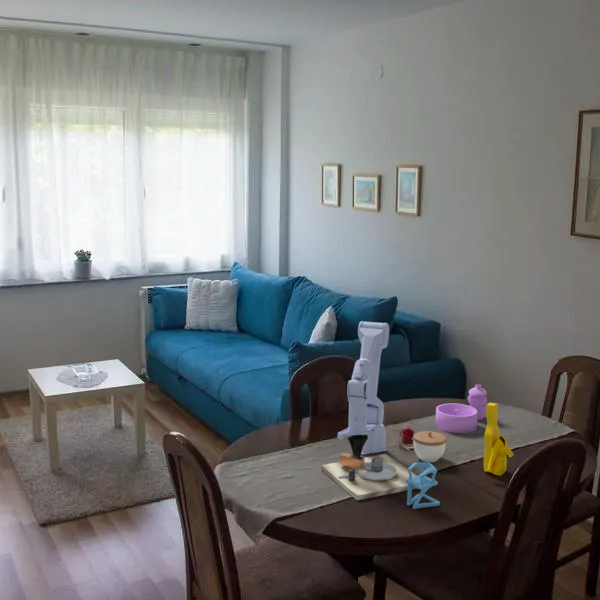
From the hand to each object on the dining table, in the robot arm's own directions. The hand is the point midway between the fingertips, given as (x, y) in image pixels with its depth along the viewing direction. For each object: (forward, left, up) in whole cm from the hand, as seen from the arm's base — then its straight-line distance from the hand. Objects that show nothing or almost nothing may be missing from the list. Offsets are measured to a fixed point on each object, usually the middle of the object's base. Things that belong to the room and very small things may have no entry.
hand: (356, 456), depth 240 cm
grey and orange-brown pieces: (0, +7, -2) cm, 8 cm away
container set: (-58, -21, -4) cm, 62 cm away
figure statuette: (-40, +20, -4) cm, 45 cm away
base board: (-1, +9, -4) cm, 10 cm away
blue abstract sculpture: (-5, +30, -4) cm, 31 cm away
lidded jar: (-26, +3, -4) cm, 26 cm away
